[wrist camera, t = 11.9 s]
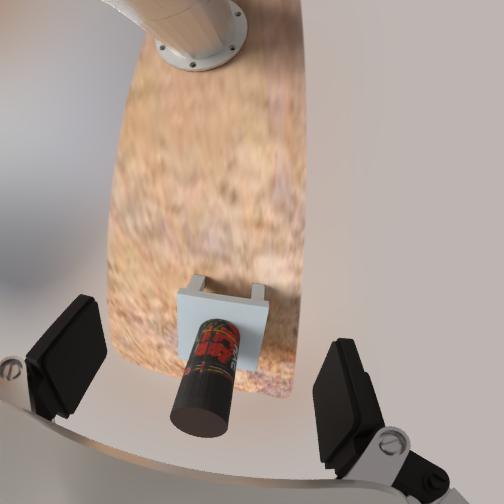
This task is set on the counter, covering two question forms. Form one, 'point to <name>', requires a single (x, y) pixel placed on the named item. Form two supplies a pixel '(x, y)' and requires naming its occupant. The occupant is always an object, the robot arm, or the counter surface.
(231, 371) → the deodorant
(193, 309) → the pale blue square tabletop
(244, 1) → the counter surface
